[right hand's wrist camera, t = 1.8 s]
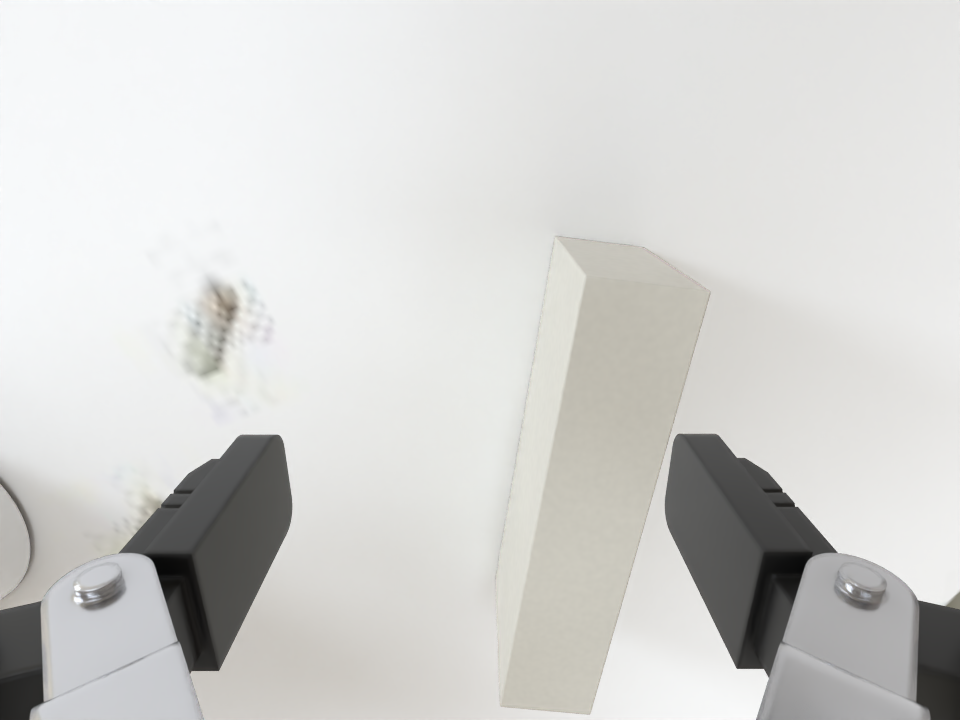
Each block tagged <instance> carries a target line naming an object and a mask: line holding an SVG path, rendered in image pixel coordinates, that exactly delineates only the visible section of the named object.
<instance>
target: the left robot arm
mask: <svg viewBox="0 0 960 720" xmlns="http://www.w3.org/2000/svg"><path fill="white" fill-rule="evenodd" d="M30 552H31V551H30V539H29V534H28V530H27V527H26V524H25V521H24V519H23V517H22V515H21V512H20V511H19V509H18V507H17V505H16V504H15V502H14V501H13V499H12V498H11V496H10V495H9V494H8V492H7V491H6V490H5V489H4V488H3V486H2V485H1V484H0V599H2V598H3V597H5V596H6V595H8V594H9V593H10V592H12V591H13V590H14V589H15V588H16V587H17V586H18V585H19V583H20V582H21V581H22V579H23V577H24V575H25V574H26V571H27V569H28V565H29V561H30Z"/></svg>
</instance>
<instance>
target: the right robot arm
mask: <svg viewBox="0 0 960 720" xmlns="http://www.w3.org/2000/svg"><path fill="white" fill-rule="evenodd" d="M665 514H666V520H667V525H668V528H669V530H670V533H671V535H672V537H673V539H674V541H675V543H676V545H677V547H678V549H679V551H680V553H681V555H682V557H683V559H684V561H685V563H686V565H687V567H688V569H689V572H690V574H691V576H692V578H693V580H694V582H695V584H696V586H697V588H698V590H699V592H700V594H701V596H702V598H703V600H704V602H705V604H706V606H707V608H708V610H709V613H710V615H711V617H712V619H713V621H714V623H715V625H716V627H717V629H718V631H719V633H720V635H721V637H722V639H723V641H724V643H725V645H726V647H727V649H728V651H729V654H730V656H731V658H732V660H733V662H734V664H735V666H736V668H737V669H764V670H765V671H766V673H767V675H768V677H769V680H768V683H767V686H766V690H765V693H764V696H763V699H762V703H761V706H760V709H759V712H758V715H757V719H756V720H960V610H959V609H955V608H950V607H946V606H941V605H936V604H932V603H927V602H923V601H918V600H917V598H916V596H915V594H914V593H913V591H912V590H911V589H910V588H909V587H908V586H907V585H906V584H905V583H904V582H903V581H902V580H901V579H900V578H898V577H897V576H896V575H894V574H893V573H891V572H890V571H888V570H886V569H885V568H883V567H881V566H879V565H877V564H875V563H873V562H870V561H868V560H865V559H862V558H859V557H856V556H852V555H847V554H840V553H837V551H836V550H835V549H834V548H833V547H832V546H831V545H830V543H829V542H828V541H827V540H826V539H825V538H824V536H823V535H822V534H821V533H820V532H819V531H818V530H817V528H816V527H815V526H814V525H813V524H812V523H811V522H810V520H809V519H808V518H807V517H806V516H805V515H804V514H803V512H802V511H801V510H800V509H799V508H798V507H795V503H794V502H793V501H792V500H791V499H790V497H789V496H788V495H787V494H786V493H783V492H782V488H781V487H780V486H779V485H778V484H777V483H776V481H775V480H774V479H773V478H772V477H771V476H770V474H769V473H768V472H766V471H765V470H763V469H761V468H760V467H758V466H757V465H755V464H753V463H752V462H750V461H749V460H747V459H745V458H736V456H735V455H734V454H733V453H732V451H731V450H730V449H729V448H728V446H727V445H726V444H725V443H724V442H723V440H722V439H721V438H720V437H719V436H718V435H717V434H678V435H677V436H676V437H675V439H674V443H673V448H672V455H671V462H670V469H669V476H668V483H667V490H666V496H665ZM291 517H292V496H291V489H290V483H289V476H288V469H287V462H286V455H285V448H284V443H283V440H282V438H281V437H280V436H279V435H240V436H238V437H237V438H236V440H235V441H234V442H233V443H232V445H231V446H230V447H229V448H228V449H227V451H226V452H225V453H224V454H223V455H222V457H221V458H220V459H211V460H210V461H208V462H206V463H205V464H203V465H202V466H200V467H198V468H197V469H195V470H194V471H192V472H190V473H189V474H188V475H187V476H186V477H185V478H184V479H183V481H182V482H181V483H180V484H179V485H178V486H177V487H176V489H175V490H174V494H170V495H169V497H168V498H167V499H166V500H165V501H164V502H163V503H162V504H161V508H158V509H157V510H156V511H155V512H154V514H153V515H152V516H151V517H150V518H149V519H148V520H147V522H146V523H145V524H144V525H143V526H142V527H141V528H140V530H139V531H138V532H137V533H136V534H135V535H134V536H133V537H132V539H131V540H130V541H129V542H128V543H127V544H126V545H125V547H124V548H123V549H122V550H121V551H120V552H119V553H118V554H113V555H108V556H104V557H101V558H98V559H95V560H92V561H90V562H87V563H85V564H83V565H81V566H79V567H77V568H75V569H74V570H72V571H70V572H69V573H67V574H66V575H64V576H63V577H62V578H60V579H59V580H58V581H57V582H56V583H55V584H54V585H53V586H52V587H51V588H50V589H49V590H48V591H47V593H46V594H45V596H44V598H43V600H42V601H40V602H36V603H32V604H27V605H23V606H18V607H14V608H9V609H5V610H0V720H204V719H203V715H202V712H201V709H200V706H199V703H198V699H197V696H196V693H195V690H194V686H193V683H192V680H191V677H190V673H191V671H219V670H220V668H221V666H222V664H223V661H224V659H225V657H226V655H227V653H228V651H229V649H230V647H231V645H232V643H233V641H234V639H235V637H236V635H237V633H238V631H239V629H240V627H241V625H242V623H243V621H244V619H245V617H246V615H247V613H248V611H249V609H250V607H251V605H252V603H253V601H254V599H255V597H256V595H257V593H258V591H259V589H260V587H261V585H262V582H263V580H264V578H265V576H266V574H267V572H268V570H269V568H270V566H271V564H272V562H273V560H274V558H275V556H276V554H277V552H278V550H279V548H280V546H281V544H282V542H283V540H284V538H285V536H286V534H287V532H288V529H289V526H290V522H291Z"/></svg>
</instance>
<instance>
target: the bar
mask: <svg viewBox="0 0 960 720" xmlns="http://www.w3.org/2000/svg"><path fill="white" fill-rule="evenodd" d="M709 297H710V291H709V290H708V289H706V288H704V287H703V286H701V285H700V284H698V283H697V282H695V281H694V280H692V279H691V278H689V277H688V276H686V275H685V274H683V273H682V272H680V271H679V270H677V269H676V268H674V267H673V266H671V265H670V264H668V263H667V262H665V261H664V260H662V259H661V258H659V257H658V256H656V255H655V254H653V253H652V252H650V251H649V250H647V249H646V248H644V247H637V246H629V245H621V244H614V243H606V242H598V241H590V240H583V239H575V238H567V237H559V236H555V238H554V244H553V250H552V256H551V261H550V267H549V273H548V279H547V284H546V290H545V296H544V302H543V307H542V313H541V319H540V325H539V330H538V336H537V342H536V348H535V354H534V359H533V365H532V371H531V377H530V382H529V388H528V394H527V400H526V405H525V411H524V417H523V423H522V428H521V434H520V440H519V446H518V451H517V457H516V463H515V469H514V474H513V480H512V486H511V492H510V497H509V503H508V509H507V515H506V520H505V526H504V532H503V538H502V543H501V549H500V555H499V561H498V566H497V572H496V578H495V582H496V612H497V642H498V672H499V702H500V706H501V707H510V708H521V709H532V710H543V711H554V712H565V713H576V714H587V715H589V714H590V713H591V710H592V706H593V703H594V699H595V696H596V692H597V689H598V685H599V682H600V678H601V675H602V671H603V668H604V664H605V661H606V657H607V654H608V650H609V647H610V643H611V640H612V636H613V633H614V629H615V626H616V622H617V619H618V615H619V612H620V608H621V605H622V601H623V598H624V594H625V591H626V587H627V584H628V580H629V577H630V573H631V570H632V566H633V563H634V559H635V556H636V552H637V549H638V545H639V542H640V538H641V535H642V531H643V528H644V524H645V521H646V517H647V514H648V510H649V507H650V503H651V500H652V496H653V493H654V489H655V486H656V482H657V479H658V475H659V472H660V468H661V465H662V461H663V458H664V454H665V451H666V447H667V444H668V440H669V437H670V433H671V430H672V426H673V423H674V419H675V416H676V412H677V409H678V405H679V402H680V398H681V395H682V391H683V388H684V384H685V381H686V377H687V374H688V370H689V367H690V363H691V360H692V356H693V353H694V349H695V346H696V342H697V339H698V335H699V332H700V328H701V325H702V321H703V318H704V314H705V311H706V307H707V304H708V300H709Z"/></svg>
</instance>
